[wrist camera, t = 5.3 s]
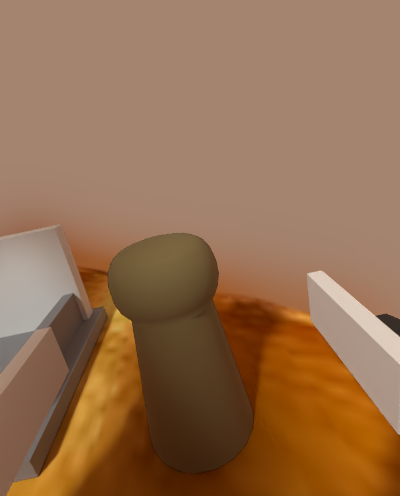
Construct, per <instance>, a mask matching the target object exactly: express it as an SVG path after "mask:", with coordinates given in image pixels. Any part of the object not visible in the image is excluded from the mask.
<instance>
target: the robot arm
mask: <svg viewBox="0 0 400 496" xmlns="http://www.w3.org/2000/svg"><path fill="white" fill-rule="evenodd" d="M307 282H308V293H309V304H310V316H311V321H312V323H313V324H314V325H315V326H316V328H317V329H318V330H319V332H320V333H321V334H322V336H323V337H324V338H325V339H326V341H327V342H328V343H329V345H330V346H331V347H332V349H333V350H334V351H335V353H336V354H337V355H338V356H339V358H340V359H341V360H342V362H343V363H344V364H345V366H346V367H347V368H348V370H349V371H350V372H351V373H352V375H353V376H354V377H355V379H356V380H357V381H358V383H359V384H360V385H361V386H362V388H363V389H364V390H365V392H366V393H367V394H368V396H369V397H370V398H371V400H372V401H373V402H374V403H375V405H376V406H377V407H378V409H379V410H380V411H381V413H382V414H383V415H384V416H385V418H386V419H387V420H388V422H389V423H390V424H391V426H392V427H393V428H394V430H395V431H396V432H397V433H398V435H399V434H400V319H398V318H395V317H393V316H391V315H388V314H382V315H378V316H374V315H373V314H372V313H371V312H370V311H369V310H367V309H366V308H365V307H364V306H363V305H362V304H360V303H359V302H358V301H357V300H356V299H354V298H353V297H352V296H351V295H350V294H349V293H347V292H346V291H345V290H344V289H343V288H342V287H340V286H339V285H338V284H337V283H336V282H335V281H333V280H332V279H331V278H330V277H329V276H328V275H326V274H325V273H324V272H323V271H318V272H313V273H308V274H307ZM68 372H69V369H68V366H67V364H66V362H65V359H64V357H63V355H62V352H61V350H60V347H59V345H58V343H57V340H56V338H55V336H54V333H53V331H52V329H51V327H48V328H43V329H39V330H36V331H35V332H34V333H33V334H32V336H31V337H30V338H29V339H28V341H27V342H26V343H25V344H24V345H23V347H22V348H21V349H20V350H19V352H18V353H17V354H16V355H15V357H14V358H13V359H12V360H11V362H10V363H9V364H8V365H7V367H6V368H5V369H4V370H3V372H2V373H1V374H0V496H6V495H7V493H8V491H9V489H10V487H11V485H12V483H13V481H14V479H15V477H16V475H17V473H18V471H19V469H20V467H21V465H22V463H23V461H24V459H25V457H26V455H27V453H28V451H29V449H30V447H31V445H32V443H33V441H34V439H35V437H36V435H37V433H38V431H39V429H40V427H41V425H42V424H43V422H44V420H45V418H46V416H47V414H48V412H49V410H50V408H51V406H52V404H53V402H54V400H55V398H56V396H57V394H58V392H59V390H60V388H61V386H62V384H63V382H64V380H65V378H66V376H67V374H68Z"/></svg>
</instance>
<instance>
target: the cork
mask: <svg viewBox="0 0 400 496" xmlns="http://www.w3.org/2000/svg"><path fill="white" fill-rule="evenodd" d="M107 275H108V287H109V290H110V293H111V296H112V299H113V302H114V304H115V306H116V307H117V309H118V310H119V311H120V313H121V314H122V315H124V316H125V317H127V318H128V319H130V320H131V321H132V325H133V332H134V338H135V344H136V350H137V357H138V363H139V369H140V375H141V382H142V388H143V394H144V401H145V407H146V413H147V419H148V426H149V432H150V438H151V441H152V445H153V448H154V451H155V453H156V454H157V455H158V457H159V458H160V459H161V460H162V461H163V463H164V464H166V465H168V466H170V467H172V468H174V469H176V470H177V471H179V472H189V473H202V472H206V471H210V470H214V469H218V468H219V467H221V466H222V465H224V464H226V463H227V462H229V461H231V460H232V459H234V458H235V457H236V455H237V454H238V453H239V452H240V451H241V450H242V449H243V447H244V446H245V445H246V443H247V441H248V439H249V436H250V434H251V432H252V429H253V414H254V413H253V410H252V407H251V404H250V401H249V398H248V395H247V392H246V390H245V387H244V384H243V381H242V379H241V376H240V373H239V370H238V368H237V365H236V362H235V359H234V357H233V354H232V351H231V348H230V346H229V343H228V340H227V337H226V334H225V332H224V329H223V326H222V323H221V321H220V318H219V315H218V312H217V310H216V307H215V304H214V301H213V299H212V298H213V296H214V294H215V292H216V289H217V286H218V275H219V272H218V267H217V262H216V259H215V257H214V255H213V252H212V250H211V248H210V246H209V245H208V244H207V243H206V242H205V241H204V240H203V239H202V238H200V237H198V236H195V235H192V234H186V233H173V234H166V235H159V236H155V237H151V238H147V239H144V240H142V241H139V242H137V243H134V244H132V245H130V246H128V247H126V248H124V249H123V250H122V251H120V252H119V253H118V254H117V255H116V256H115V257H114V258H113V260H112V262H111V264H110V267H109V271H108V274H107Z"/></svg>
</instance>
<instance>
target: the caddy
mask: <svg viewBox="0 0 400 496" xmlns="http://www.w3.org/2000/svg"><path fill="white" fill-rule="evenodd" d="M106 318H107V314H106V311H105V309H104V307H100V308H95V309H92V307H91V304H90V301H89V299H88V296H87V293H86V290H85V288H84V285H83V282H82V279H81V277H80V274H79V271H78V268H77V266H76V263H75V260H74V258H73V255H72V252H71V249H70V246H69V243H68V241H67V238H66V236H65V232H64V230H63V227H62V224H60V225H55V226H50V227H45V228H41V229H36V230H31V231H26V232H22V233H17V234H12V235H8V236H3V237H0V374H1V373H2V372H3V370H4V369H5V368H6V367H7V365H8V364H9V363H10V362H11V360H12V359H13V358H14V357H15V355H16V354H17V353H18V352H19V350H20V349H21V348H22V347H23V345H24V344H25V343H26V342H27V341H28V339H29V338H30V337H31V336H32V334H33V333H34V332H35V331H36V330H39V329H43V328H48V327H51V329H52V331H53V333H54V336H55V338H56V340H57V343H58V345H59V347H60V350H61V352H62V355H63V357H64V359H65V362H66V364H67V366H68V369H69V372H68V374H67V376H66V378H65V380H64V382H63V384H62V386H61V388H60V390H59V392H58V394H57V396H56V398H55V400H54V402H53V404H52V406H51V408H50V410H49V412H48V414H47V416H46V418H45V420H44V422H43V424H42V425H41V427H40V429H39V431H38V433H37V435H36V437H35V439H34V441H33V443H32V445H31V447H30V449H29V451H28V453H27V455H26V457H25V459H24V461H23V463H22V465H21V467H20V469H19V471H18V473H17V475H16V477H15V479H14V481H13V482H16V481H21V480H25V479H30V478H35V477H38V476H39V473H40V471H41V469H42V467H43V464H44V462H45V460H46V457H47V455H48V453H49V450H50V448H51V446H52V443H53V441H54V439H55V436H56V434H57V432H58V429H59V427H60V425H61V423H62V420H63V418H64V416H65V413H66V411H67V409H68V406H69V404H70V402H71V399H72V397H73V395H74V392H75V390H76V388H77V386H78V383H79V381H80V379H81V376H82V374H83V372H84V369H85V367H86V365H87V362H88V360H89V358H90V355H91V353H92V351H93V348H94V346H95V344H96V342H97V339H98V337H99V335H100V332H101V330H102V328H103V325H104V323H105V321H106Z"/></svg>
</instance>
